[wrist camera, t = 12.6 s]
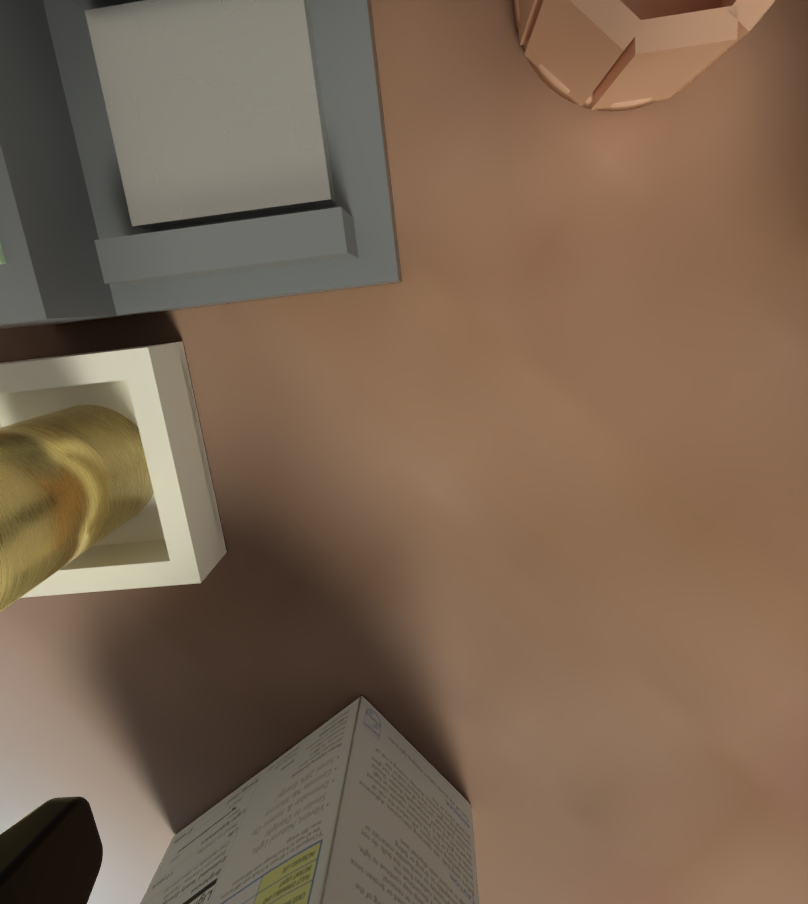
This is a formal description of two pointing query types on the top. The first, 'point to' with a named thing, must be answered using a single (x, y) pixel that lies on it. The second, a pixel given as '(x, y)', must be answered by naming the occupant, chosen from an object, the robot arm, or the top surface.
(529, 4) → the cup
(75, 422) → the cell
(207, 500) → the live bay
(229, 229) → the grey holder
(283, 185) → the plate
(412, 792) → the light bulb box
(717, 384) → the top surface
